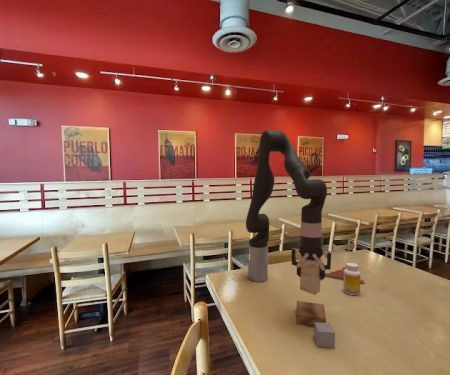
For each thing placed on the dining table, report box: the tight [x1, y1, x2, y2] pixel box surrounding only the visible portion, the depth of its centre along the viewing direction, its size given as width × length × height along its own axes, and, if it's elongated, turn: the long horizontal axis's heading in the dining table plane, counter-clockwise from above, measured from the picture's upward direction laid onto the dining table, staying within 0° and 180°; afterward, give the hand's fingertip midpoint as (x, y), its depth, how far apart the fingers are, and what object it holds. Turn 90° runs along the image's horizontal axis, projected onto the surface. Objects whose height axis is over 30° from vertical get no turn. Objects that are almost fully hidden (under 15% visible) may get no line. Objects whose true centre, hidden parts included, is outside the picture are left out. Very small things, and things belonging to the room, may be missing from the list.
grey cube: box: [314, 322, 336, 348], centre depth 83 cm, size 5×5×5 cm
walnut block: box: [295, 300, 327, 328], centre depth 96 cm, size 10×10×4 cm
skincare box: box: [299, 257, 322, 296], centre depth 95 cm, size 6×4×12 cm
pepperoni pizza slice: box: [325, 266, 365, 285], centre depth 137 cm, size 18×2×20 cm
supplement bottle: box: [343, 262, 361, 296], centre depth 115 cm, size 7×7×13 cm
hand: (310, 277), depth 95 cm, fingers closed on skincare box, 7 cm apart
